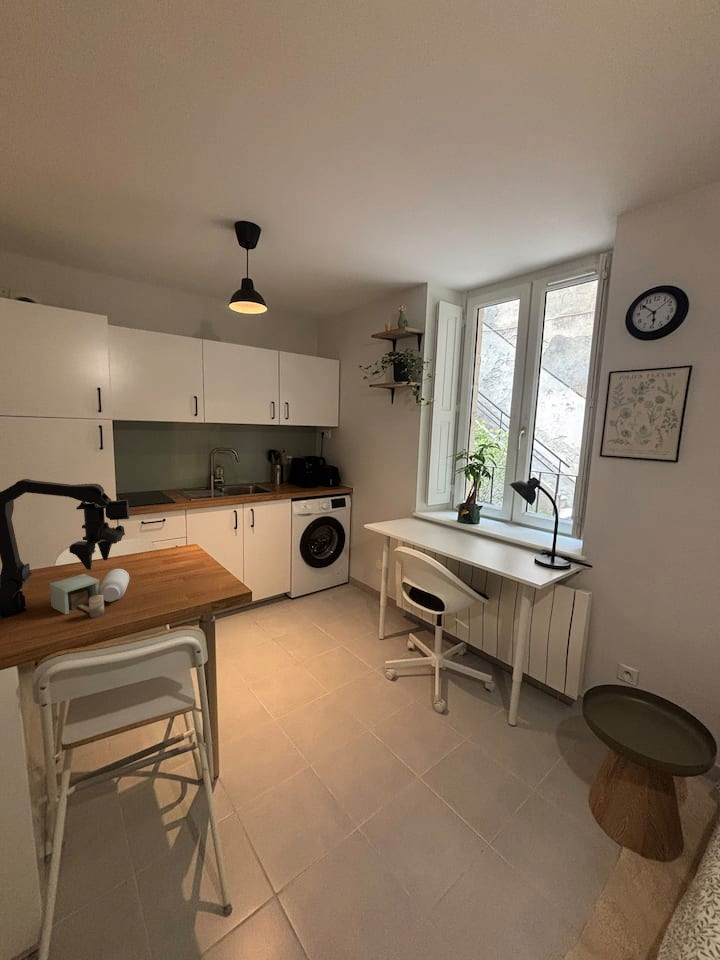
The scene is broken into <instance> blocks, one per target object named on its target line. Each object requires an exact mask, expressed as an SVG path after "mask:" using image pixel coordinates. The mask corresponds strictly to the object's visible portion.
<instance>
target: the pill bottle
mask: <svg viewBox="0 0 720 960" xmlns="http://www.w3.org/2000/svg"><path fill="white" fill-rule="evenodd" d="M105 575H106V576H105V577H104V579H103V581H102V583H101V585H100V586H99V595H103V599H104V602H111V603H112V602H114V601H117V600H119V599H120V598H122V597H123V596H124V594H125V593H126V591H127V588H128V585H129V582H130V575H129V573H128V571H126V570H124V569H123V568H114V569H112V570H110V571H108V573H107V574H105Z"/></svg>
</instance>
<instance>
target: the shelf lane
mask: <svg viewBox="0 0 720 960" xmlns="http://www.w3.org/2000/svg"><path fill="white" fill-rule="evenodd" d="M79 588H83V589H86V590H87V593H88V601H89V598H90V597H92V596H95V595H100V579H97V578H95V577H92V576H90V575H88V574H85V573H82V574H79V575H75V576H72V577H69V578H68V577H67V578H65V579H62V580H58V581H54V582H51V583H49V593H50V605H51V608H52V609H55V610H57V611H59V612H61V613H62V614H63V615H67V614H70V608H69V603H68V592H70V591H73V590H76V589H79Z"/></svg>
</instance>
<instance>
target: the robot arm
mask: <svg viewBox="0 0 720 960" xmlns="http://www.w3.org/2000/svg"><path fill="white" fill-rule="evenodd" d="M26 493H28V494H37V495H38V494H39V495H45V496H46V495H47V496H56V497H67V498H72V499H75V500H77V501H80V504H78V506H77V507H76V508H75V509H76V510H83V519H84V524H82V525H81V529H84V530H85V531H84V532H85V533H84V534H85V535H84V536H82V540H81V541H80V540H78V541H76V542H74V543H72V544H71V545H70V546H69V547H68V549H69V550H68V552H69V553H70V554H72V555H75V556H76V557H77V558H78V560H79V561H80V563H82V564H83V566H84V567H85V569H86V570H87V571H90V570H91V569H92V566H93V564H92V563H93V554H95V553H96V550H95V549H96V545H97V546H98V549H99V552H100V555H101V557H102V560H103V561H107V560H108V558H109V555H110V551H111V549H112V545H114V544H117V543H118V542H121V541H122V538H123V536H126V533H125V526H123V525H117V526H116V527H110V526H109V523H108V521H107V522H106V520H105V519H106V518H107V519H109V520H110V521H117V520H119V521H120V520H130V512H131V511H130V507H129V501H128V499H122V500H112V499H111V498H110V497H109V496H108V495H107V494H106V493H105V489H104V487H103V486H102V485H101V484H100V483H81V484H80V483H79V484H69V483H59V482H53V481H52V482H51V481H41V480H33V479H29V478H22V479H20V480H18V481H16V482H15V483H14V484H13V485H11V486H9V487H8V488H6V489H4V490H1V491H0V562H1V571H0V618H1V619H4V618H8V617H11V616H14V615H17V614H20V613H21V614H22V613H23V612H26V611H28V609H27V608H26V607H27V605H26V603H27V602H26V595H24V592H23V591H22V589H23V587H24V586H25V585H26V584H27V583H28V582H29V581H30V577H31V576H32V574H33V573H32V572H31V570H30V567H31V566H30V563H25V564H24V563H23V561H21V558H20V553H19V549H18V544H17V539H16V534H15V530H14V529H15V528H14V524H13V520H12V518H13V514H14V513H13V512H14V509H15V508H14V507H15V505H14V504H15V503H14V502H15V500H16V499H18V498H20V497H21V496H23V495H24V494H26Z"/></svg>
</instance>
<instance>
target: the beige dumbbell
mask: <svg viewBox="0 0 720 960" xmlns="http://www.w3.org/2000/svg"><path fill="white" fill-rule="evenodd" d="M68 603H69V610H75V609H80V610H83V612H86V613H88V614H89V618H91V619H94V618H95V619H97V618H100V617H103V616H104V615H105V600H104V599H103V595H100V594H99V595H95V596H92V597H90V598H89V600H88V593H87V590H86V589H83V588H79V589H76V590H73V591H70V592H68Z"/></svg>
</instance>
